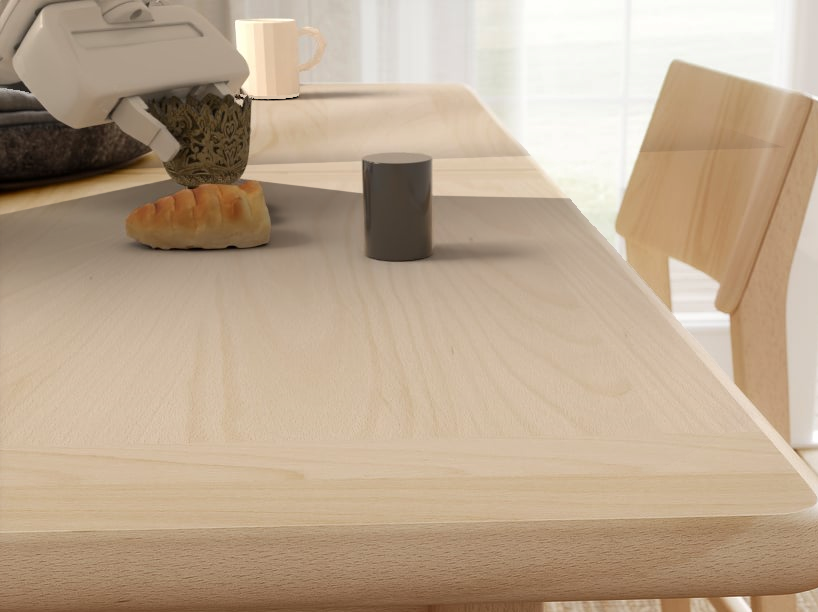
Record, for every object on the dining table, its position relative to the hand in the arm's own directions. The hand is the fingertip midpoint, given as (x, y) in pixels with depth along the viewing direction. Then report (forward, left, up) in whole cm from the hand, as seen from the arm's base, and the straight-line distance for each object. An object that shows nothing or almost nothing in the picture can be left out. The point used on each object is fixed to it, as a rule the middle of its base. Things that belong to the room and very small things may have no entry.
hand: (210, 147), depth 87 cm
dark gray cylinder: (+16, -13, -4) cm, 21 cm away
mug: (-13, +76, -5) cm, 77 cm away
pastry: (+3, -11, -5) cm, 13 cm away
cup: (-1, 0, -5) cm, 5 cm away
